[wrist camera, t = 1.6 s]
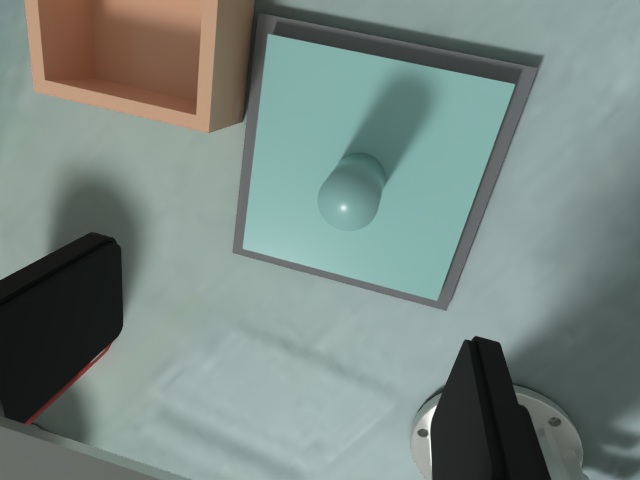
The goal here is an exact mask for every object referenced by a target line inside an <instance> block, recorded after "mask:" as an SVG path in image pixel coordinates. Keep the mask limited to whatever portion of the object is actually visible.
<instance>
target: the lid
mask: <svg viewBox="0 0 640 480" xmlns="http://www.w3.org/2000/svg"><path fill="white" fill-rule="evenodd" d="M514 87H515V84H512V83H507V82H502V81H497V80H492V79H487V78H482V77H477V76H472V75H468V74H463V73H458V72H453V71H448V70H443V69H438V68H433V67H428V66H423V65H418V64H414V63H409V62H404V61H399V60H394V59H389V58H384V57H379V56H374V55H369V54H364V53H360V52H355V51H350V50H345V49H340V48H335V47H330V46H325V45H320V44H315V43H310V42H306V41H301V40H296V39H291V38H286V37H281V36H276V35H271V34H268V36H267V45H266V53H265V62H264V70H263V79H262V88H261V96H260V105H259V113H258V122H257V130H256V139H255V147H254V156H253V164H252V173H251V181H250V190H249V198H248V207H247V215H246V224H245V232H244V241H243V249H245V250H249V251H253V252H257V253H260V254H264V255H268V256H272V257H275V258H279V259H283V260H286V261H290V262H294V263H298V264H301V265H305V266H309V267H312V268H316V269H320V270H324V271H327V272H331V273H335V274H339V275H342V276H346V277H350V278H353V279H357V280H361V281H365V282H368V283H372V284H376V285H379V286H383V287H387V288H391V289H394V290H398V291H402V292H405V293H409V294H413V295H417V296H420V297H424V298H428V299H432V300H435V301H437V300H438V297H439V294H440V292H441V289H442V286H443V283H444V281H445V278H446V275H447V272H448V270H449V267H450V264H451V261H452V258H453V256H454V253H455V250H456V247H457V245H458V242H459V239H460V236H461V234H462V231H463V228H464V225H465V223H466V220H467V217H468V214H469V211H470V209H471V206H472V203H473V200H474V198H475V195H476V192H477V189H478V187H479V184H480V181H481V178H482V176H483V173H484V170H485V167H486V164H487V162H488V159H489V156H490V153H491V151H492V148H493V145H494V142H495V140H496V137H497V134H498V131H499V129H500V126H501V123H502V120H503V117H504V115H505V112H506V109H507V106H508V104H509V101H510V98H511V95H512V93H513V90H514Z"/></svg>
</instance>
